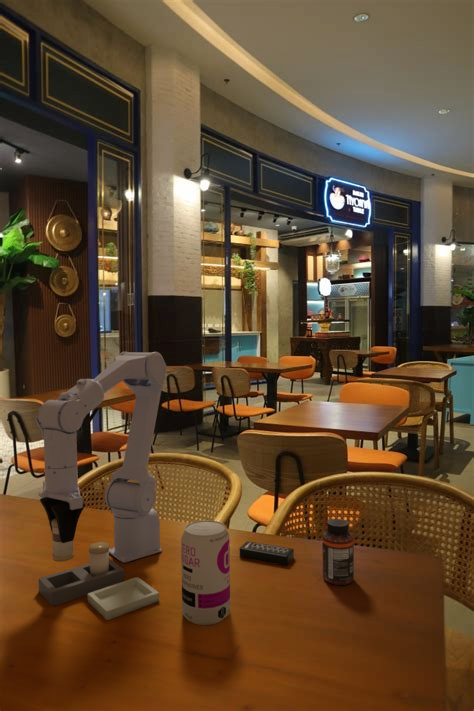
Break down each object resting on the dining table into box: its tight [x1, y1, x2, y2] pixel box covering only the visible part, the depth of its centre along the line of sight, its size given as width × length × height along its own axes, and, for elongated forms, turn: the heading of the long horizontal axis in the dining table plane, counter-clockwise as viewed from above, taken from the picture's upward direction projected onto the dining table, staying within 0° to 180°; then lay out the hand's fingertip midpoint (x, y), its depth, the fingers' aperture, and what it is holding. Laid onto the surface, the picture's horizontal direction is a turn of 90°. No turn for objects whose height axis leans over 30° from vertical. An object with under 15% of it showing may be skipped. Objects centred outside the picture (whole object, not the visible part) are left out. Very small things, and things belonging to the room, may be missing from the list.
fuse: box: [88, 541, 110, 576], centre depth 103 cm, size 4×4×7 cm
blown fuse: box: [51, 518, 75, 562], centre depth 99 cm, size 4×4×7 cm
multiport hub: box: [239, 540, 295, 567], centre depth 114 cm, size 4×11×2 cm, turn 65°
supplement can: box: [180, 519, 231, 626], centre depth 91 cm, size 8×8×15 cm
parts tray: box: [87, 576, 160, 621], centre depth 96 cm, size 10×8×2 cm
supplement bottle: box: [321, 518, 355, 586], centre depth 103 cm, size 6×6×11 cm
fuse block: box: [38, 558, 125, 607], centre depth 101 cm, size 14×7×2 cm, turn 129°
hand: (62, 537), depth 99 cm, fingers closed on blown fuse, 4 cm apart
